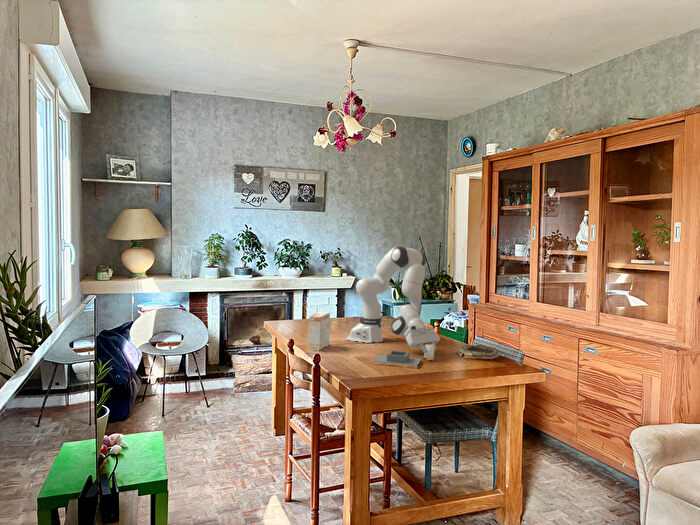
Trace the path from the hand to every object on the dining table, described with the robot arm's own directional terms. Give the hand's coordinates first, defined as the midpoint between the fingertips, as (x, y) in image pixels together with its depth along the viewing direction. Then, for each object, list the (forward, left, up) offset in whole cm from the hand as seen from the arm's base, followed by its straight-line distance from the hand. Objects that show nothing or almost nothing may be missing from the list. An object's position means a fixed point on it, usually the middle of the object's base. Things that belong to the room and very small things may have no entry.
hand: (430, 351), depth 274 cm
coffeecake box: (-63, +2, -5) cm, 64 cm away
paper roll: (0, 0, -5) cm, 5 cm away
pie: (+26, +18, -5) cm, 32 cm away
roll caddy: (-14, -13, -5) cm, 20 cm away
